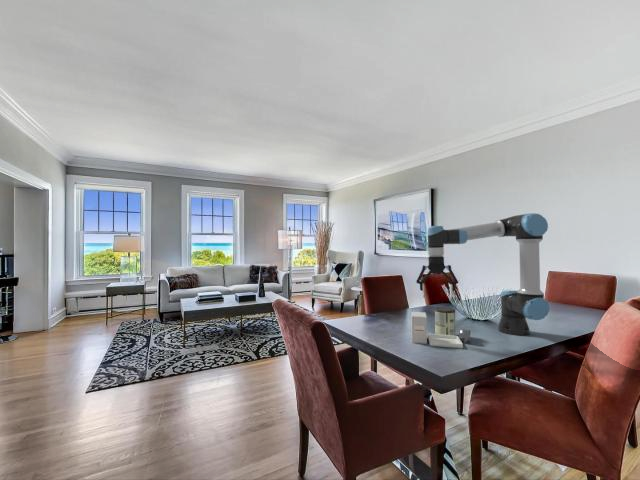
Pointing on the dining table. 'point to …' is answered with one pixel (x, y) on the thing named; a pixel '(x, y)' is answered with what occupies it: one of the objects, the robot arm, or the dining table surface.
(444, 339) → the tray
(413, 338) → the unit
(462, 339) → the cartridge
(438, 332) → the coffee can
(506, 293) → the robot arm
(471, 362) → the dining table surface
